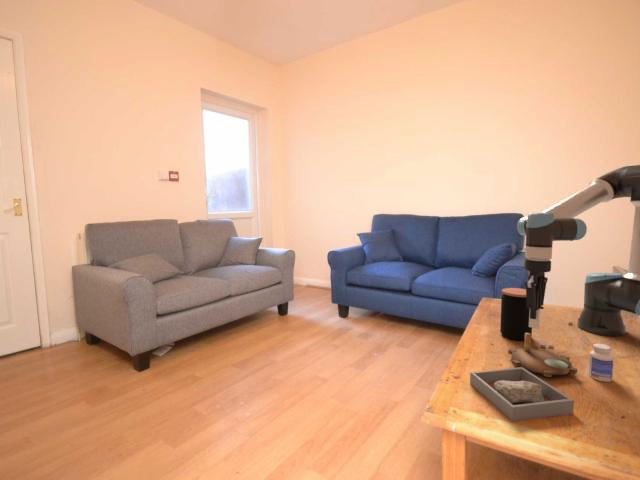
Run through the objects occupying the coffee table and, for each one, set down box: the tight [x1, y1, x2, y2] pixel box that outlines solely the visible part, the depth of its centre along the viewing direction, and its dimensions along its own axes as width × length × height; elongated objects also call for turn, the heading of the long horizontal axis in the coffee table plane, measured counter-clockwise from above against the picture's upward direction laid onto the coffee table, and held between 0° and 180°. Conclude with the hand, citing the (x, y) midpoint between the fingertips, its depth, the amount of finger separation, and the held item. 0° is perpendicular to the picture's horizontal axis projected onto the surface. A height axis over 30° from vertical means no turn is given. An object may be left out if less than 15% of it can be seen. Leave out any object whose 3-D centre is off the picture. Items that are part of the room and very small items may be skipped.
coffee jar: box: [499, 287, 533, 342], centre depth 133 cm, size 11×11×18 cm
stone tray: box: [469, 366, 575, 422], centre depth 92 cm, size 17×18×4 cm
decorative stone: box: [493, 380, 546, 404], centre depth 92 cm, size 12×11×5 cm
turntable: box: [507, 333, 578, 378], centre depth 108 cm, size 19×17×7 cm
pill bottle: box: [588, 343, 614, 383], centre depth 101 cm, size 5×5×10 cm
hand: (533, 327), depth 117 cm, fingers closed
